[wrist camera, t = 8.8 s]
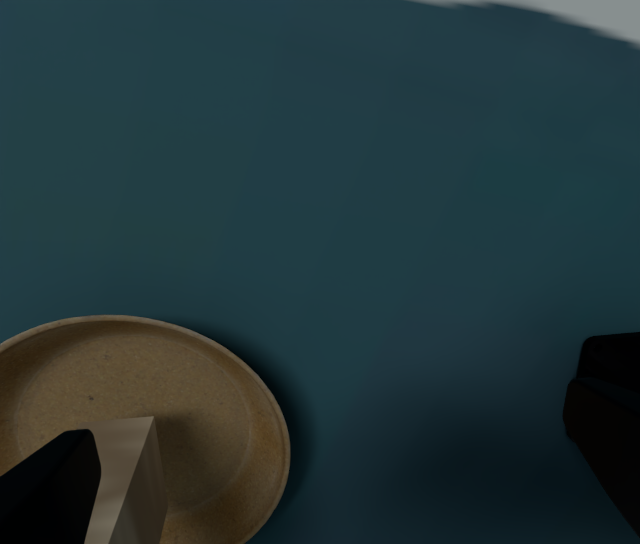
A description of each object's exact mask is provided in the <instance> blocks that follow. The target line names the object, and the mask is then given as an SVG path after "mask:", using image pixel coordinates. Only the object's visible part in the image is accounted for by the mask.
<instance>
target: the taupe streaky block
mask: <svg viewBox="0 0 640 544" xmlns="http://www.w3.org/2000/svg"><path fill="white" fill-rule="evenodd" d="M77 429H89V430H91V431H92V433H93V435H94V438H95V442H96V446H97V450H98V454H99V459H100V463H101V470H102V471H101V480H100V484H99V488H98V492H97V496H96V500H95V504H94V508H93V511H92V515H91V519H90V523H89V527H88V531H87V535H86V539H85V542H84V544H159V543H160V539H161V534H162V530H163V526H164V522H165V518H166V513H167V509H168V501H167V494H166V488H165V482H164V476H163V469H162V463H161V457H160V451H159V444H158V438H157V432H156V426H155V419H154V416H151V417H139V418H128V419H116V420H104V421H93V422H81V423H79V425H78V427H77ZM77 429H76V430H77Z"/></svg>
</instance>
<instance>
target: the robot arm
mask: <svg viewBox="0 0 640 544" xmlns="http://www.w3.org/2000/svg"><path fill="white" fill-rule="evenodd" d="M595 345H596V347H595V348H594V346H595ZM563 421H564V424H565V427H566V429H567V435H568V437H569V438H570V439H571V440H572V441H573V442H575V443H576V445H577V446H578V448H579V449H580V451H581V453H582V454H583V456H584V458H585V459H586V461H587V462H588V464H589V466H590V467H591V469H592V470H593V472H594V474H595V475H596V477H597V478H598V480H599V482H600V483H601V485H602V487H603V488H604V490H605V491H606V493H607V494H608V496H609V497H610V499H611V500H612V502H613V503H614V504H615V506H616V507H617V509H618V510H619V511H620V513H621V514H622V515H623V517H624V518H625V519H626V521H627V522H628V523H629V525H630V526H631V527H632V529H633V530H634V531H635V533H636V534H637V535H638V537H639V538H640V332H634V333H623V334H612V335H601V336H593V337H590V338H588V339H587V340H586V341H585V343H584V345H583V350H582V355H581V361H580V366H579V371H578V376H577V379H573V380H571V381H570V382H569V384H568V387H567V392H566V398H565V403H564V408H563ZM101 471H102V470H101V463H100V459H99V454H98V450H97V446H96V442H95V438H94V435H93V433H92V431H91V430H89V429H77V430H68V431H64V432H63V433H61V434H60V435H58V436H57V437H55V438H54V439H53V440H51V441H50V442H48V443H47V444H45V445H44V446H43V447H41V448H40V449H38V450H37V451H36V452H34V453H33V454H31V455H30V456H28V457H27V458H26V459H24V460H23V461H21V462H20V463H19V464H17V465H16V466H14V467H13V468H11V469H10V470H9V471H7V472H6V473H4V474H3V475H2V476H0V544H84V542H85V539H86V535H87V531H88V527H89V523H90V519H91V515H92V511H93V508H94V504H95V500H96V496H97V492H98V488H99V484H100V480H101Z"/></svg>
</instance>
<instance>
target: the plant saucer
mask: <svg viewBox="0 0 640 544" xmlns="http://www.w3.org/2000/svg"><path fill="white" fill-rule="evenodd" d="M151 416H154V419H155V426H156V432H157V438H158V444H159V451H160V457H161V463H162V469H163V476H164V482H165V488H166V494H167V501H168V509H167V513H166V518H165V522H164V526H163V530H162V534H161V539H160V543H159V544H245V543H246V542H247V541H248V540H249V539H250V538H252V537H253V536H254V535H255V534H256V533H257V532H258V531H259V530H260V529H261V527H262V526H263V525H264V524H265V523H266V522H267V520H268V519H269V517H270V516H271V514H272V513H273V511H274V510H275V508H276V507H277V505H278V503H279V501H280V499H281V496H282V495H283V492H284V489H285V486H286V483H287V479H288V474H289V468H290V440H289V434H288V429H287V425H286V422H285V419H284V416H283V414H282V411H281V409H280V406H279V405H278V403H277V401H276V399H275V398H274V396H273V394H272V393H271V391H270V390H269V389H268V387H267V386H266V385H265V383H264V382H263V381H262V380H261V378H260V377H259V376H258V375H257V374H256V373H255V372H254V371H253V370H252V369H251V368H250V367H249V366H248V365H247V364H246V363H245V362H244V361H242V360H241V359H240V358H239V357H237V356H236V355H235V354H233V353H232V352H231V351H229V350H228V349H227V348H225V347H224V346H222V345H220V344H218V343H217V342H215V341H213V340H211V339H209V338H207V337H205V336H203V335H201V334H199V333H196V332H194V331H192V330H189V329H187V328H184V327H181V326H177V325H175V324H171V323H167V322H164V321H159V320H155V319H149V318H144V317H136V316H126V315H91V316H81V317H74V318H68V319H62V320H58V321H54V322H50V323H47V324H43V325H40V326H38V327H35V328H32V329H29V330H27V331H25V332H22V333H20V334H18V335H16V336H14V337H12V338H10V339H8V340H6V341H4V342H3V343H1V344H0V476H2V475H3V474H4V473H6V472H7V471H9V470H10V469H11V468H13V467H14V466H16V465H17V464H19V463H20V462H21V461H23V460H24V459H26V458H27V457H28V456H30V455H31V454H33V453H34V452H36V451H37V450H38V449H40V448H41V447H43V446H44V445H45V444H47V443H48V442H50V441H51V440H53V439H54V438H55V437H57V436H58V435H60V434H61V433H63V432H64V431H68V430H76V429H77V427H78V425H79V423H81V422H93V421H104V420H116V419H128V418H139V417H151Z"/></svg>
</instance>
